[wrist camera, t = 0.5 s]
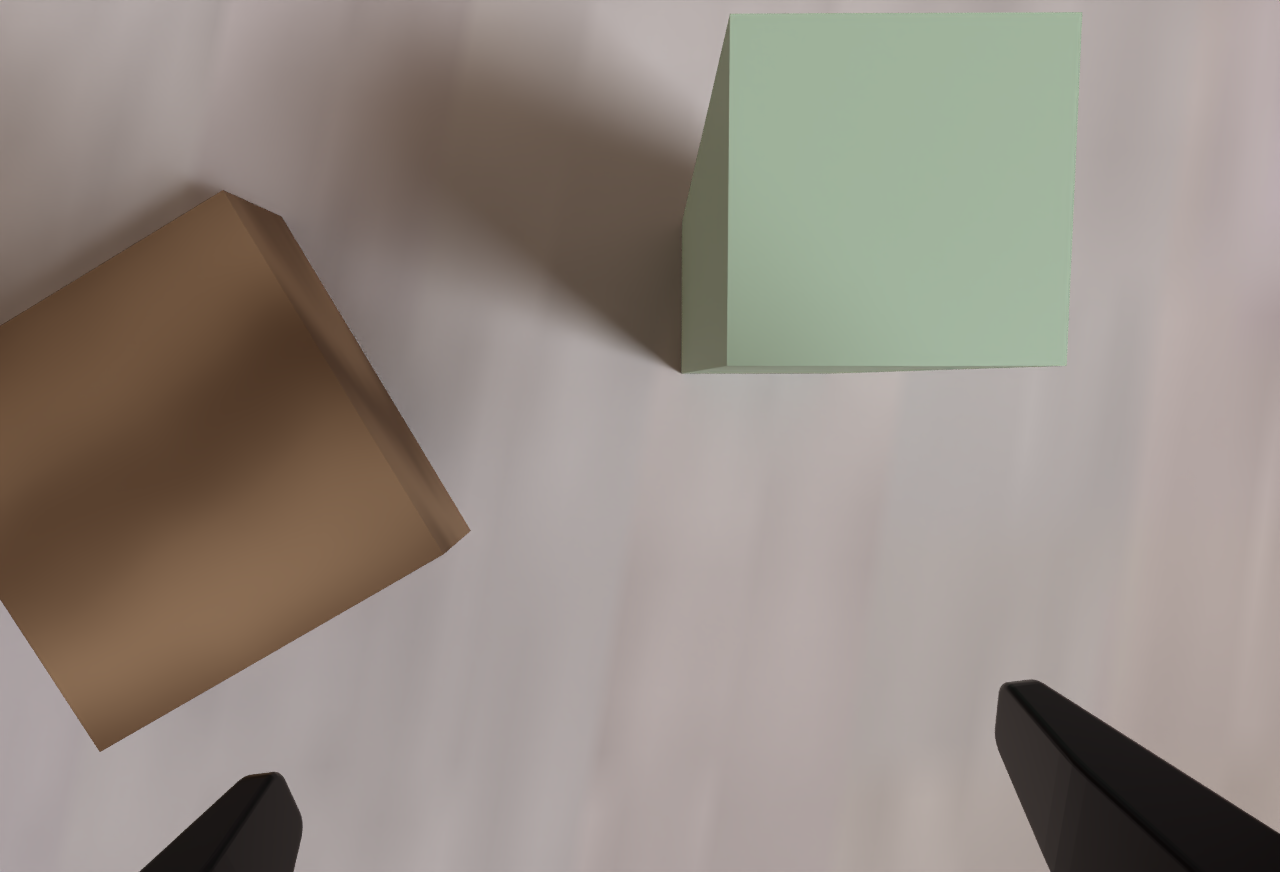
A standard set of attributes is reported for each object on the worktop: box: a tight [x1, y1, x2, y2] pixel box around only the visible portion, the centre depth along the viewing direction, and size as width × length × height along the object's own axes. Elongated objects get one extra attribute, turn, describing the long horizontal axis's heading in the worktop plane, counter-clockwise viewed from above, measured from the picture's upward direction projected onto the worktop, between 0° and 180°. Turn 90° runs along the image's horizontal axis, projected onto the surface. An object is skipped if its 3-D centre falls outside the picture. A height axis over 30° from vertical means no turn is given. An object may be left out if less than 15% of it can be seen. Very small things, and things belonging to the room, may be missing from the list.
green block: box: [681, 12, 1082, 374], centre depth 16 cm, size 4×4×12 cm
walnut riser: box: [0, 190, 471, 752], centre depth 21 cm, size 11×11×4 cm
